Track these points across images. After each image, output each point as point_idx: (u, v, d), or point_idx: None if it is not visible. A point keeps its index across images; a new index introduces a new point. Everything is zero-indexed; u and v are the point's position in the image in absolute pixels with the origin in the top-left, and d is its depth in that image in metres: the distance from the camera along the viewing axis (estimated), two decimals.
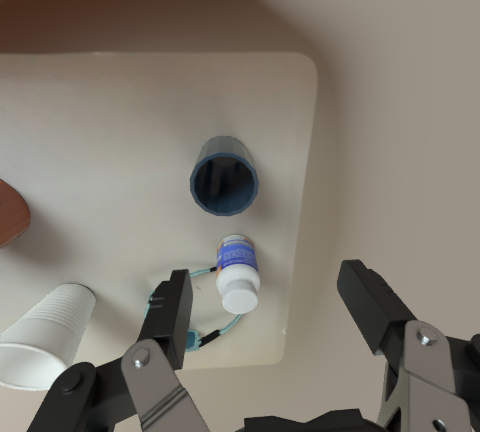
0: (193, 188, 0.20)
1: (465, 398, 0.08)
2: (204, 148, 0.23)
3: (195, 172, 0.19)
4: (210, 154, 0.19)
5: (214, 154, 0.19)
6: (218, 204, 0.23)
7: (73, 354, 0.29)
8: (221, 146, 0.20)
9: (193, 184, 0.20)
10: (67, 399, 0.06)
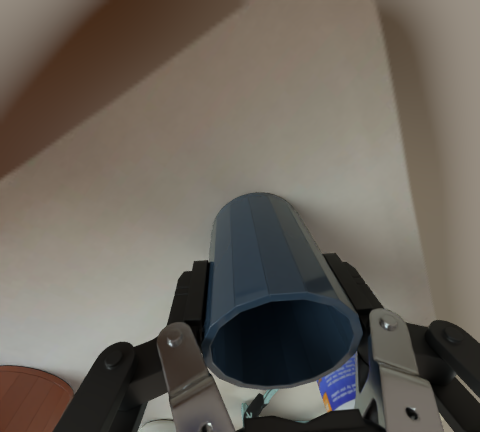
0: (221, 372, 0.09)
1: (429, 384, 0.08)
2: (211, 249, 0.12)
3: (208, 353, 0.08)
4: (219, 313, 0.08)
5: (227, 313, 0.07)
6: (283, 345, 0.11)
7: None
8: (236, 259, 0.09)
9: (217, 367, 0.09)
10: (108, 374, 0.07)
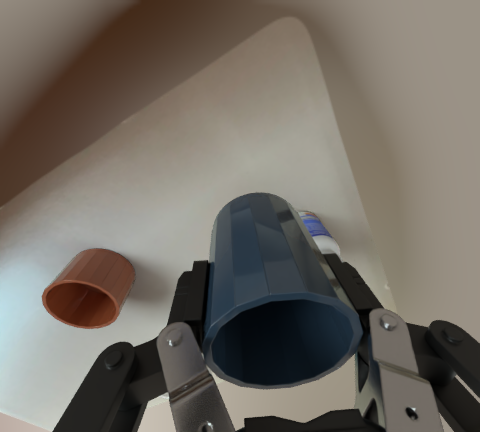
0: (221, 371, 0.09)
1: (429, 384, 0.08)
2: (212, 248, 0.12)
3: (208, 353, 0.08)
4: (220, 312, 0.08)
5: (228, 313, 0.07)
6: (283, 344, 0.11)
7: None
8: (237, 259, 0.09)
9: (217, 366, 0.09)
10: (108, 374, 0.07)
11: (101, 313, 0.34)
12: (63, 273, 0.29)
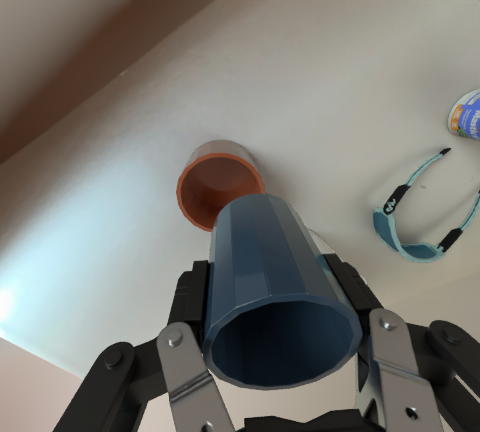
0: (221, 372, 0.09)
1: (429, 384, 0.08)
2: (212, 249, 0.12)
3: (208, 354, 0.08)
4: (219, 313, 0.08)
5: (228, 314, 0.07)
6: (283, 345, 0.11)
7: None
8: (237, 260, 0.09)
9: (217, 368, 0.09)
10: (108, 374, 0.07)
11: None
12: (203, 152, 0.24)
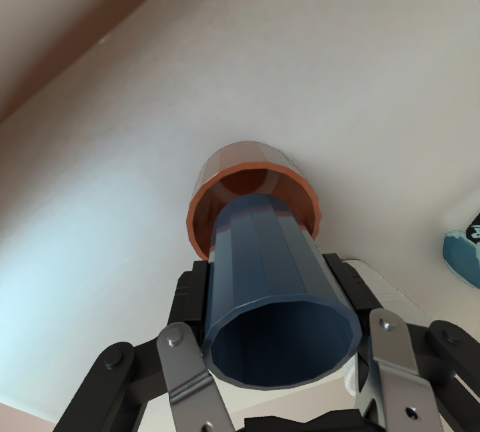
0: (221, 373, 0.09)
1: (429, 384, 0.08)
2: (212, 250, 0.12)
3: (208, 354, 0.08)
4: (219, 314, 0.08)
5: (227, 315, 0.07)
6: (283, 345, 0.11)
7: None
8: (236, 260, 0.09)
9: (217, 368, 0.09)
10: (108, 374, 0.07)
11: None
12: (228, 160, 0.15)
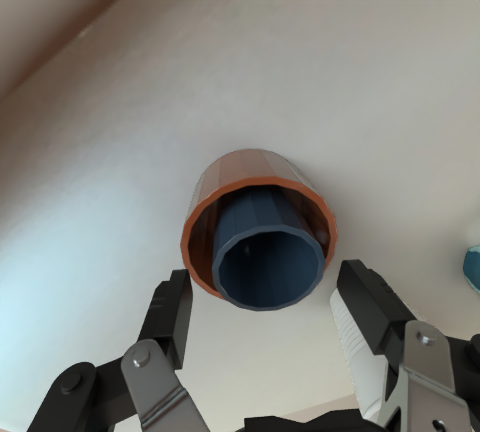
0: (225, 293, 0.13)
1: (465, 398, 0.08)
2: (217, 213, 0.16)
3: (216, 275, 0.12)
4: (225, 242, 0.11)
5: (230, 241, 0.11)
6: (272, 284, 0.15)
7: None
8: (236, 212, 0.13)
9: (222, 289, 0.13)
10: (67, 399, 0.06)
11: None
12: (229, 173, 0.13)
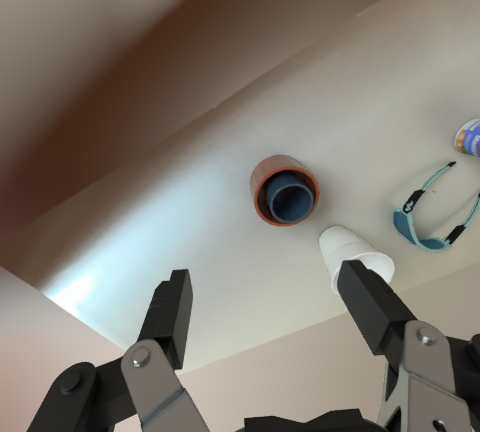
0: (273, 213, 0.32)
1: (465, 398, 0.08)
2: (266, 184, 0.35)
3: (271, 204, 0.31)
4: (276, 190, 0.30)
5: (278, 189, 0.30)
6: (290, 214, 0.34)
7: (383, 261, 0.37)
8: (278, 181, 0.32)
9: (273, 211, 0.32)
10: (67, 399, 0.06)
11: None
12: (275, 165, 0.32)
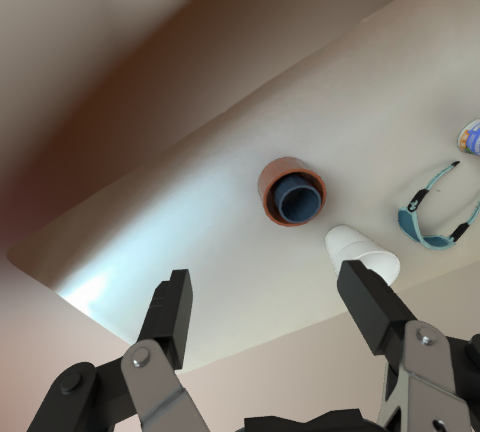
0: (282, 214, 0.33)
1: (465, 398, 0.08)
2: (274, 185, 0.36)
3: (280, 205, 0.32)
4: (285, 192, 0.31)
5: (287, 191, 0.31)
6: (298, 215, 0.35)
7: (389, 259, 0.38)
8: (287, 182, 0.33)
9: (281, 212, 0.33)
10: (67, 399, 0.06)
11: None
12: (283, 167, 0.33)
